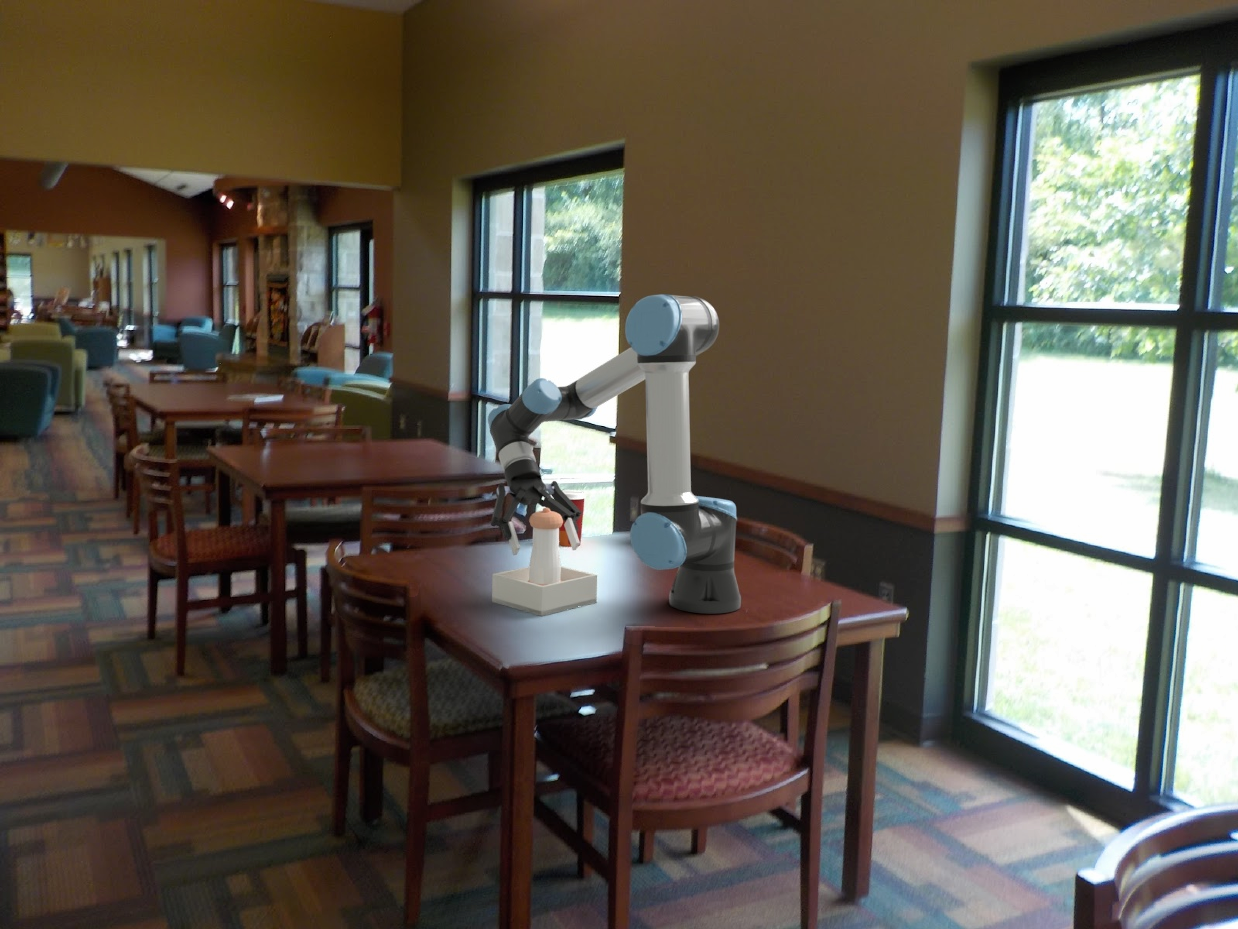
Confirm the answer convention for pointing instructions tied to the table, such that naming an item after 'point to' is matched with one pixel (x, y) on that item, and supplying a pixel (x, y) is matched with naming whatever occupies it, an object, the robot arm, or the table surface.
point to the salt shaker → (545, 548)
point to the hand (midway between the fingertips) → (547, 549)
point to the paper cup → (578, 500)
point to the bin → (544, 591)
